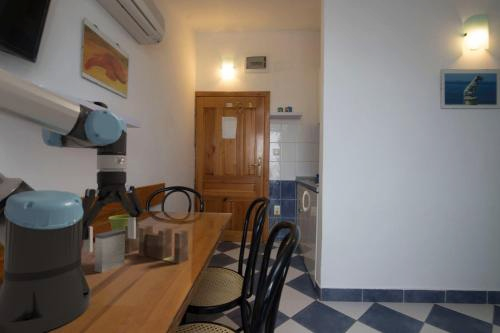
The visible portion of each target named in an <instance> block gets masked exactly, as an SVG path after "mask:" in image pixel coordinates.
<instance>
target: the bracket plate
mask: <svg viewBox="0 0 500 333" xmlns="http://www.w3.org/2000/svg"><path fill="white" fill-rule="evenodd" d="M94 239H95V240H94V242H95V244H94V272H98V273H102V274H104V273H106V272H107V271H110V270H113V269H116V268H118V267H121V266H124V265H125V255H126V254H125V253H126V252H125V231H124V230H113V231H112V230H109V231H105V232H100V233H96V234H94Z"/></svg>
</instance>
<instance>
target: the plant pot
mask: <svg viewBox="0 0 500 333" xmlns="http://www.w3.org/2000/svg"><path fill="white" fill-rule="evenodd" d="M128 217H131V216H130V215H129V214H120V215H119V214H118V215H117V214H116V215H113V216H109V217H108V220H109V223H110V226H111V227H110V228H111V231H113V230H124V231H125V226H126V225H128Z"/></svg>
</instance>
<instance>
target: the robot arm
mask: <svg viewBox="0 0 500 333" xmlns="http://www.w3.org/2000/svg"><path fill="white" fill-rule="evenodd" d="M0 115H2V116H6V117H9V118H11V119H14V120H16V121H19V122H23V123H26V124H28V125H29V124H30V125H32V126H35V127H38V128H41V136H42V141H43V143H44V144H45V145H46V146H48V147H55V148H60V149H62V148H71V149H72V148H73V149H90V150H96V169H97V170H98V171H97V172H96V184H97V189H94V188H87V189H85V190H84V191H85V192H84V198H83V199H82V198H81V197H80V196H79V194H76V193H75V192H71V191H62V190H54V189H53V190H51V189H50V190H48V189H47V190H46V189H45V190H36V189H35V188H33V187H32V186H31V185H30V184H28V183H27V182H26V181H24V180H23V179H22V178H20V177H7V176H6V175H4V174H3V173H1V172H0V245H1V246H3V247H4V257H3V258H4V259H3V260H4V261H3V262H4V263H3V266H4V267H3V269H4V270H3V271H4V272H3V283H2V285H1V287H0V333H46V332H49V331H51V330H55V329H56V328H59V327H61V326H64V325H66V324H69V323H70V322H72V321H74V320H76V319H77V318H79V317H80V316H82V315H83V314H84V313H85V312H86V311H87V310H88V309H89V307H90V305H91V293H92V292H91V289H90V286H89V283H88V281H87V279H86V276H85V273H84V271H83V267H82V251H83V252H86V253H93V252H94V249H93V248H94V247H93V246H94V244H93V242H94V240H93V239H94V237H93V236H94V232H93V230H94V227H93V226H91V224H93V222H94V221H95V219H96V217H97V216H98V215H99V213H100V212H101V211H102V210H103V209H104V207H105V206H106V205H107V204H115V203H119V205H120V206H122V208H123V210H125V211H126V212H127V215H130V216H131V217H128V238H131V239H135V238H136V227H137V224H138V218H140V217H141V215H142V214H143V213H144V210H143V208H142V205H141V203H140V201H139V198H138V196H137V194H136V188H135V186H134V185H126V183H127V172H126V171H125V170H126V169H127V144H128V143H127V141H128V139H127V137H128V132H127V128H128V127H127V121H126V119H124V117H121V116H118V115H116V113H114V112H112V111H110V110H107V109H93V108H92V107H91V108H90V107H88V106H86V105H83V104H81V103H78V102H76V101H74V100H72V99H70V98H67V97H64V96H63V95H60V94H58V93H56V92H54V91H51V90H49V89H47V88H45V87H42V86H40V85H38V84H36V83H34V82H31V81H29V80H26V79H25V78H22V77H20V76H17V75H16V74H13V73H11V72H9V71H6V70H5V69H3V68H0ZM125 194H126V195H125ZM97 196H98V197H97ZM126 196H127V197H126ZM96 197H97V199H96ZM93 203H94V204H93ZM82 245H83V247H82ZM82 248H83V250H82Z"/></svg>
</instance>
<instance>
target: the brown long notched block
mask: <svg viewBox="0 0 500 333" xmlns="http://www.w3.org/2000/svg"><path fill="white" fill-rule="evenodd" d="M157 232H158V233H156V232H154V226H153V225H149V224H148V225H144V226H141V227H140V224H139V223H137V227H136V238H135V239H131V238H128V225H126V226H125V253H126V254H130V253H134V252H136V251H138V256H141V257H145V256H147V257H152V258H157V260H160V261H163V262H164V261H165V262H170V263H174V264H179V265H180V264H183V263H184V262H186V261H188V260H189V230H184V229H183V230H180V231H179V230H178V231H176V232H174V243H173V228H170V227H166V228H162V229H159V230H158V231H157ZM173 244H174V247H173ZM173 248H174V249H173ZM173 250H174V251H173ZM173 252H174V254H173Z"/></svg>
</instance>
